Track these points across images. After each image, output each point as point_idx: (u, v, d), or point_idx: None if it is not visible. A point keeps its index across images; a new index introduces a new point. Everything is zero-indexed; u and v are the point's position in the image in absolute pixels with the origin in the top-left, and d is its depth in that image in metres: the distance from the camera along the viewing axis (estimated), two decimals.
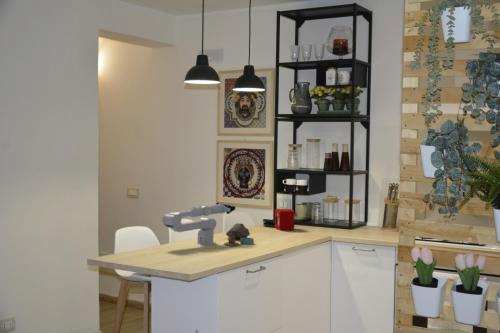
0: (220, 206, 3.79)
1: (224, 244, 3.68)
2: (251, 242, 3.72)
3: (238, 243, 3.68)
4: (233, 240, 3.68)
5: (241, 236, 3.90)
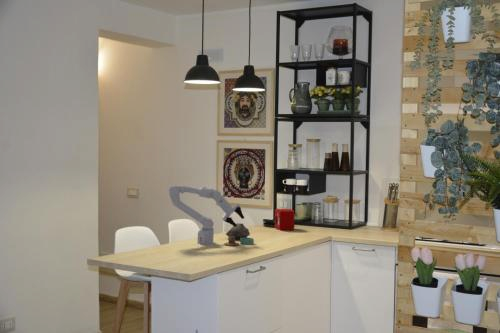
0: (227, 210, 3.74)
1: (224, 244, 3.68)
2: (251, 242, 3.72)
3: (238, 243, 3.68)
4: (233, 240, 3.68)
5: (241, 236, 3.90)
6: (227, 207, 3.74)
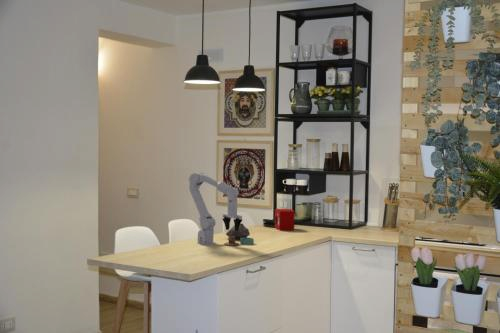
0: None
1: (224, 244, 3.68)
2: (251, 242, 3.72)
3: (238, 243, 3.68)
4: (233, 240, 3.68)
5: (241, 236, 3.90)
6: (228, 209, 3.67)
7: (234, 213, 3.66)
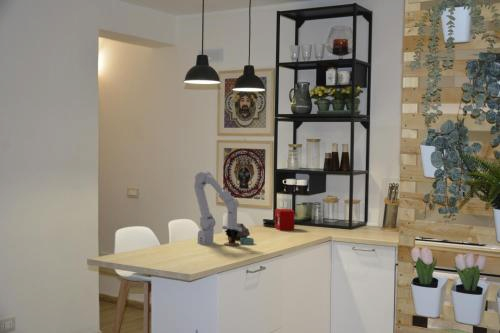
0: None
1: (224, 244, 3.68)
2: (251, 242, 3.72)
3: (238, 243, 3.68)
4: None
5: (241, 236, 3.90)
6: (227, 221, 3.67)
7: (234, 225, 3.66)
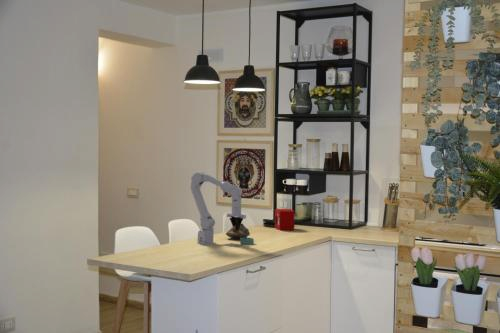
0: None
1: None
2: (251, 242, 3.72)
3: (242, 232, 3.70)
4: None
5: (241, 236, 3.90)
6: (232, 209, 3.69)
7: (238, 212, 3.67)
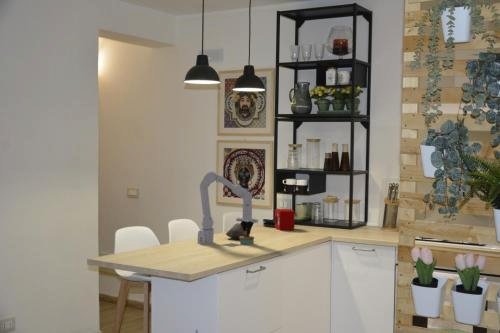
0: None
1: (239, 238, 3.73)
2: (251, 242, 3.72)
3: None
4: (248, 234, 3.74)
5: None
6: (243, 213, 3.73)
7: (250, 217, 3.72)
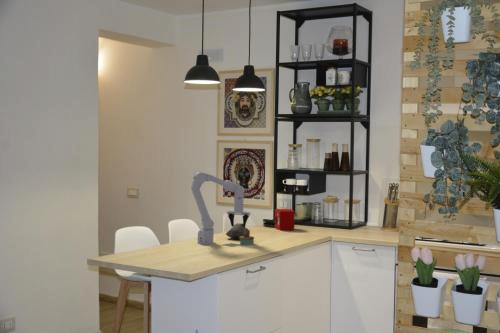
0: (234, 209, 3.77)
1: (239, 238, 3.73)
2: (251, 242, 3.72)
3: None
4: (248, 234, 3.74)
5: None
6: (235, 206, 3.76)
7: (242, 210, 3.77)
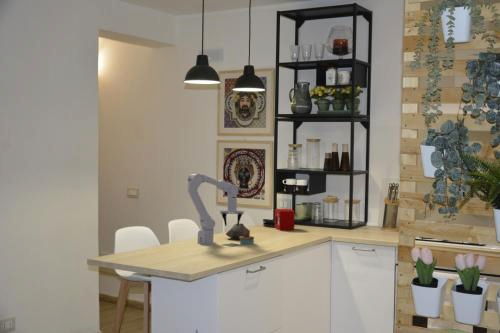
0: (228, 208, 3.80)
1: (239, 238, 3.73)
2: (251, 242, 3.72)
3: None
4: (248, 234, 3.74)
5: None
6: (229, 206, 3.79)
7: (236, 209, 3.81)
